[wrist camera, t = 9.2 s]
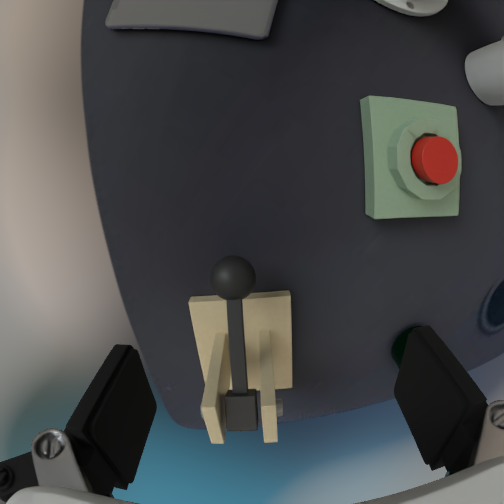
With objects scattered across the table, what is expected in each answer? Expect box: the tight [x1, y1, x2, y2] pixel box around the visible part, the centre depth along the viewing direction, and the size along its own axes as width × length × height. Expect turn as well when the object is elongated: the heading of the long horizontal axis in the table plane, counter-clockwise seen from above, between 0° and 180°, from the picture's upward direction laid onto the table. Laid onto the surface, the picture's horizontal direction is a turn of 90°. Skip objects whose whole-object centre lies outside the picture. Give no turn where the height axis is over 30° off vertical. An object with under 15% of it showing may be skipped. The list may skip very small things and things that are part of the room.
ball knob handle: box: [210, 256, 258, 431], centre depth 22 cm, size 13×3×3 cm
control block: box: [360, 96, 461, 219], centre depth 21 cm, size 10×9×4 cm
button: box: [411, 136, 458, 184], centre depth 19 cm, size 4×4×2 cm
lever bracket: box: [189, 290, 292, 444], centre depth 24 cm, size 11×9×11 cm
